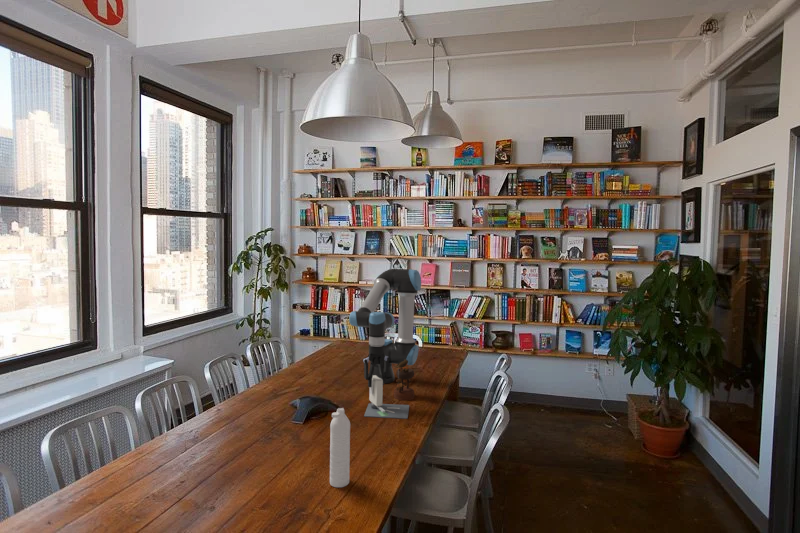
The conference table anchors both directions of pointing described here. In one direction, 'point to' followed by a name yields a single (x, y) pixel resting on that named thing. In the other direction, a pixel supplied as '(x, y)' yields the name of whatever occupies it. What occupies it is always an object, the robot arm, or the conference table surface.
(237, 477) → the conference table surface
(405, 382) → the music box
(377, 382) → the white flat block
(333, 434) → the water bottle
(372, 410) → the dial board
